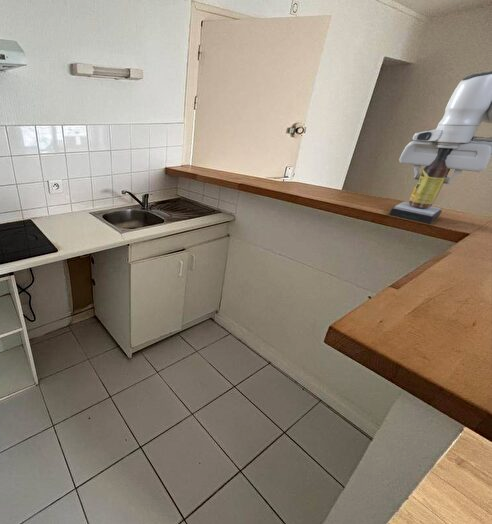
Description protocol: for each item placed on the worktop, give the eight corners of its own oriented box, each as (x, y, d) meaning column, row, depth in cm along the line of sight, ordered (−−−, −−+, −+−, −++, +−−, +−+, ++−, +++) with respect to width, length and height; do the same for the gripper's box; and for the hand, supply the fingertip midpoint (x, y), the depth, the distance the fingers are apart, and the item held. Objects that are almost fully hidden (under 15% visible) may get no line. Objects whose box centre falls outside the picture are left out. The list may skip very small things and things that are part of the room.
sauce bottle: (411, 202, 100) (439, 142, 91) (433, 206, 96) (466, 143, 86) (403, 205, 97) (432, 143, 87) (427, 210, 93) (460, 145, 83)
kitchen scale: (438, 217, 97) (443, 208, 96) (429, 224, 91) (434, 214, 90) (399, 209, 105) (403, 200, 103) (388, 215, 99) (392, 206, 98)
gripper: (505, 137, 80) (477, 186, 87) (414, 132, 94) (396, 175, 101) (502, 138, 77) (473, 189, 83) (408, 134, 91) (390, 177, 98)
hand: (430, 181), depth 92 cm, fingers closed on sauce bottle, 6 cm apart
